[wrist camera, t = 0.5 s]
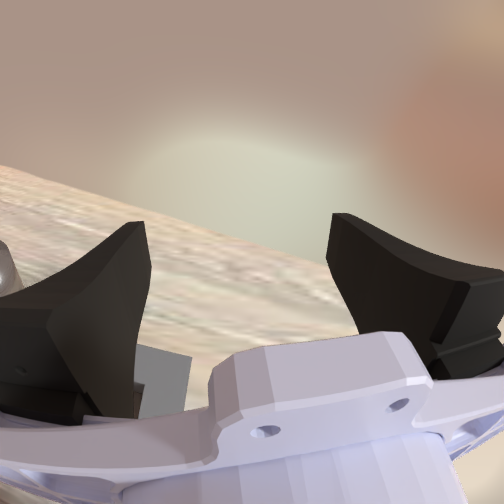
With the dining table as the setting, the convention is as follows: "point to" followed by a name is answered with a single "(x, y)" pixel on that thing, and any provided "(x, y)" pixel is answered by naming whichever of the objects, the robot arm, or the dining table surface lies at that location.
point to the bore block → (160, 381)
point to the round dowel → (8, 273)
